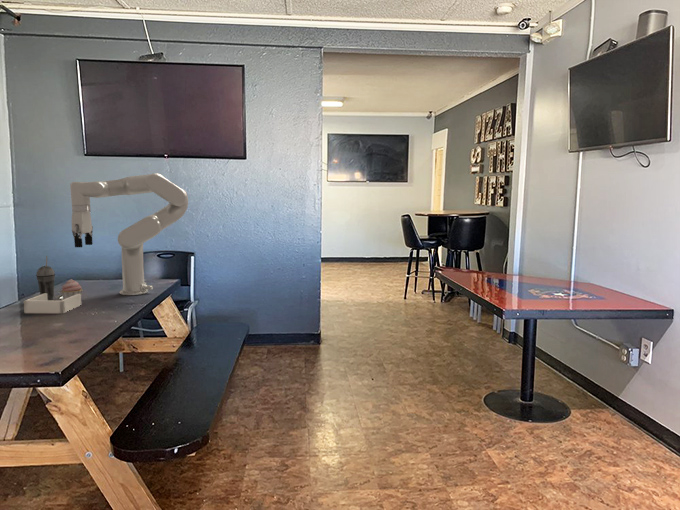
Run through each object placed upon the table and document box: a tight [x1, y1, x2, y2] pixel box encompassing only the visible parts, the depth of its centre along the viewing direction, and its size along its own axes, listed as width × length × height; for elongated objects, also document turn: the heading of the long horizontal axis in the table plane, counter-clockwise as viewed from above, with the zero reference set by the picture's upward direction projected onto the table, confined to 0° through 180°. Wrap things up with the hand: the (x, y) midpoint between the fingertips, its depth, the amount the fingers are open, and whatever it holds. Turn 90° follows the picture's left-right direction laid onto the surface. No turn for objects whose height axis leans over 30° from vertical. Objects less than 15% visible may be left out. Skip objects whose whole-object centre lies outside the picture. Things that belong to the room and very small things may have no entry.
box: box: [23, 293, 82, 314], centre depth 203 cm, size 15×14×5 cm
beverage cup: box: [35, 255, 56, 300], centre depth 216 cm, size 7×7×20 cm
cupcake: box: [59, 278, 84, 300], centre depth 217 cm, size 9×9×10 cm
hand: (83, 245), depth 227 cm, fingers open, 9 cm apart
